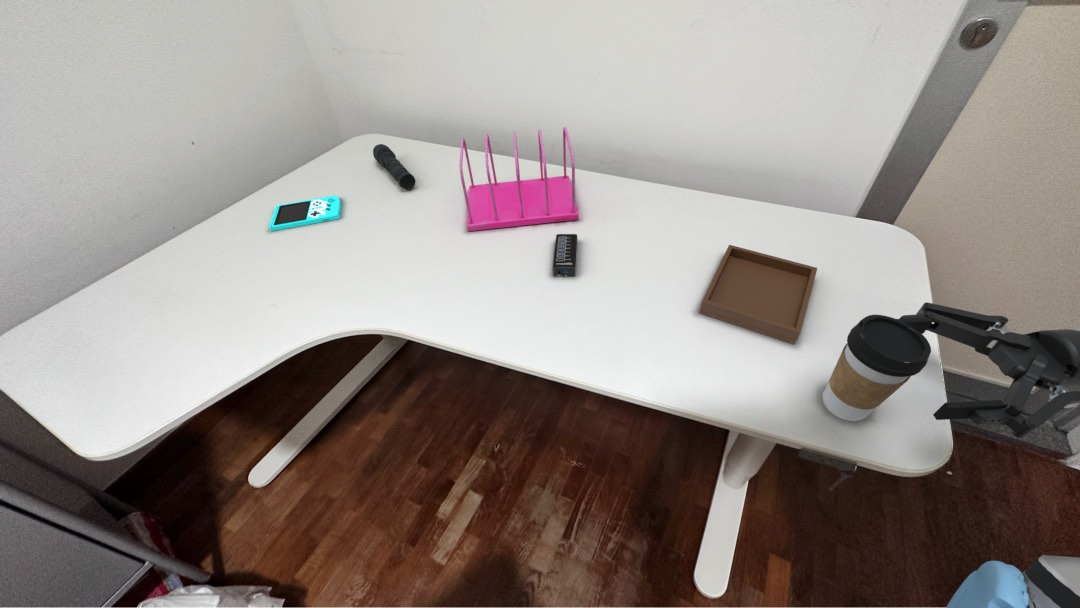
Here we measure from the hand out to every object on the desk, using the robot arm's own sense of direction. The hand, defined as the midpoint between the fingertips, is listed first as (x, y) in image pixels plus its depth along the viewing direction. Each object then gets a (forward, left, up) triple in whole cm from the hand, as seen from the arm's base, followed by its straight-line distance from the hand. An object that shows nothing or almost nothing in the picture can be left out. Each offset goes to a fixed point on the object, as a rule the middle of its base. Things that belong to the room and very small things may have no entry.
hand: (907, 366), depth 60 cm
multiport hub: (+8, +56, -9) cm, 57 cm away
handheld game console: (-5, +121, -9) cm, 121 cm away
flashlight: (+19, +114, -9) cm, 116 cm away
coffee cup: (-3, +4, -9) cm, 10 cm away
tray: (+14, +20, -8) cm, 26 cm away
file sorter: (+21, +75, -9) cm, 78 cm away
